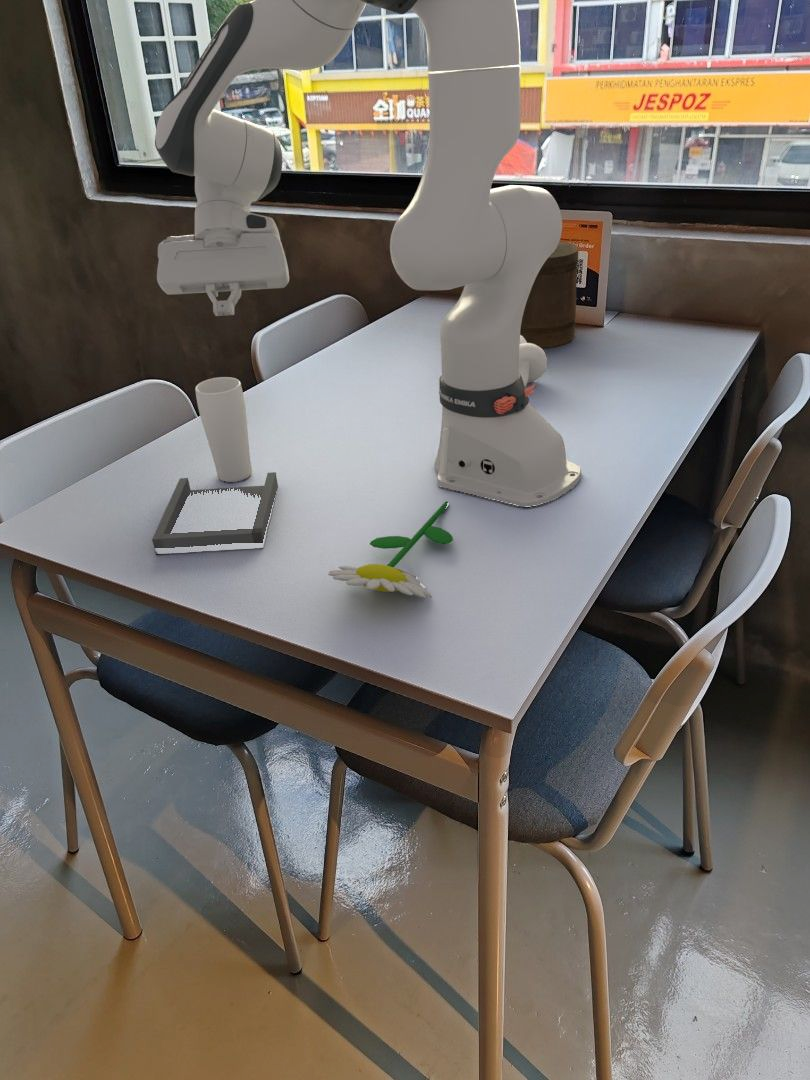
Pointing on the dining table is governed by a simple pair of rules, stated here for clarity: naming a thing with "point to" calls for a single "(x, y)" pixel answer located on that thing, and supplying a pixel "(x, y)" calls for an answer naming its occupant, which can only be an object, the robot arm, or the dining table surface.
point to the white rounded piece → (531, 361)
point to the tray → (205, 538)
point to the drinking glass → (225, 426)
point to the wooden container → (552, 300)
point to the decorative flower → (394, 563)
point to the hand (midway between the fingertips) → (223, 313)
